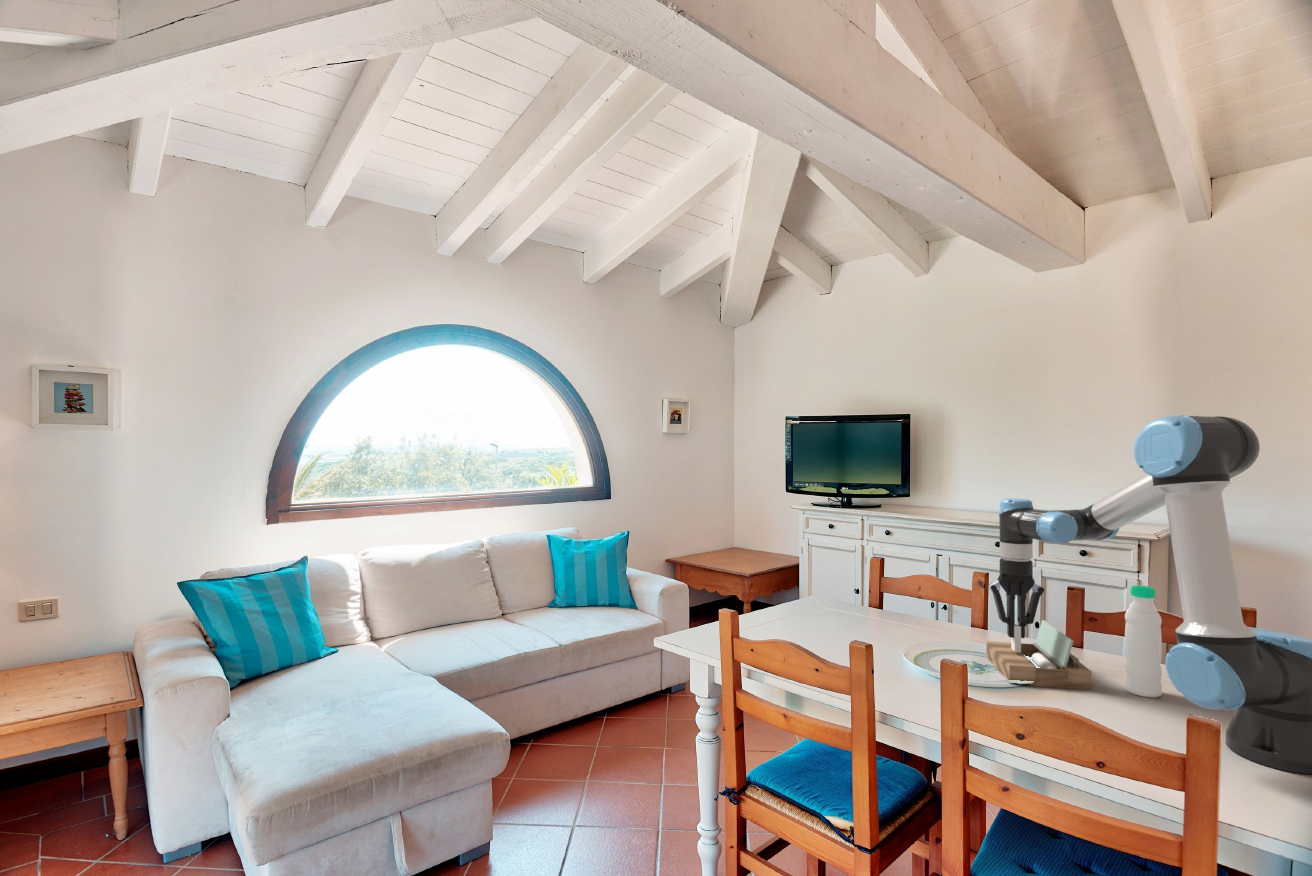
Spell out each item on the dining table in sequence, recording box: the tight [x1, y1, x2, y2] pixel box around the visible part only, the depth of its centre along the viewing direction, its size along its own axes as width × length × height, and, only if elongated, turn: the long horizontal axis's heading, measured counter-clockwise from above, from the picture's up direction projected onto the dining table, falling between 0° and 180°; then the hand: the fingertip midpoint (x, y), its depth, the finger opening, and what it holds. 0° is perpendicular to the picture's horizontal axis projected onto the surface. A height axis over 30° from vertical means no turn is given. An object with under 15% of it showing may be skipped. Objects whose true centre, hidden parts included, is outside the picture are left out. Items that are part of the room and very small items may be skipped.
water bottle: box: [1124, 585, 1163, 699], centre depth 157 cm, size 7×7×25 cm
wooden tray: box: [985, 640, 1092, 690], centre depth 171 cm, size 21×18×6 cm
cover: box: [1032, 619, 1074, 669], centre depth 170 cm, size 19×8×1 cm
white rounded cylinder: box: [1032, 653, 1058, 669], centre depth 170 cm, size 13×3×3 cm, turn 168°
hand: (1016, 650), depth 171 cm, fingers closed
